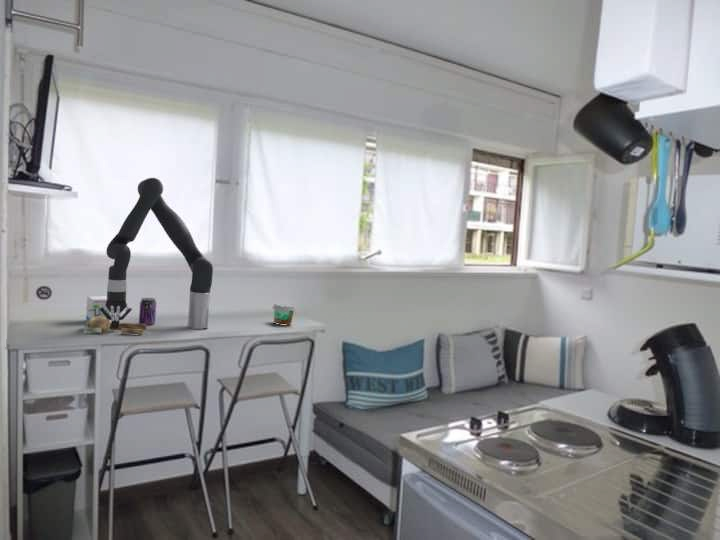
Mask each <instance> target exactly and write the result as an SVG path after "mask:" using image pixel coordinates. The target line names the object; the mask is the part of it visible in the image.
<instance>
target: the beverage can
mask: <svg viewBox="0 0 720 540" xmlns="http://www.w3.org/2000/svg"><path fill="white" fill-rule="evenodd" d="M138 313H139V314H138V316H139V318H138V324H147V325H146V326H152V325H154V324H156V315H157V302H156V298H154V297H143V298H141V300H140V302H139V312H138Z"/></svg>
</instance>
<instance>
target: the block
mask: <svg viewBox="0 0 720 540" xmlns="http://www.w3.org/2000/svg"><path fill="white" fill-rule="evenodd" d="M110 323H111V321H110V320H108V319H107V318H96V317H93V318H92V319H91V320H90V321H89V327H93V328H102V329H101V332H107V331H108V330H111V329H110ZM108 332H109V331H108ZM108 332H107V333H108Z"/></svg>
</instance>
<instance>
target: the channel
mask: <svg viewBox="0 0 720 540" xmlns="http://www.w3.org/2000/svg"><path fill="white" fill-rule="evenodd" d="M90 320H91V319H90ZM90 320H88V321H86V322H85V323H84V327H83V334H84V333H101V329H102V328H93V327H89V321H90ZM147 326H148V325H147V324H140V323H135V322H134V323H131V322H130V323H129V322H124V323H123V322H119V328H118V329H117V330H121V332H120V334H138V335H137V336H140V335H143V336H144V331H146V330H147ZM110 328H112V322H110ZM101 334H102V333H101Z"/></svg>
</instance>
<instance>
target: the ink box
mask: <svg viewBox="0 0 720 540" xmlns="http://www.w3.org/2000/svg"><path fill="white" fill-rule="evenodd" d="M106 302H107V295H102V296H101V295H100V296H99V295H96V296H95V295H92V296H87V299H86V316H85V317H86V318H85V321H86V322H87V321H88V320H90V319H92V318H93V317H96V318H106V317H105V315H104V314H103V313H102V312H101V310H100V308H101V307H103V306H105V304H106ZM106 308H107V307H106ZM106 311H107V312H108V313H109V314H110V316H111V312H110V311H109V310H108V309H107V310H106ZM110 322H112V321H111V320H110Z"/></svg>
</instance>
